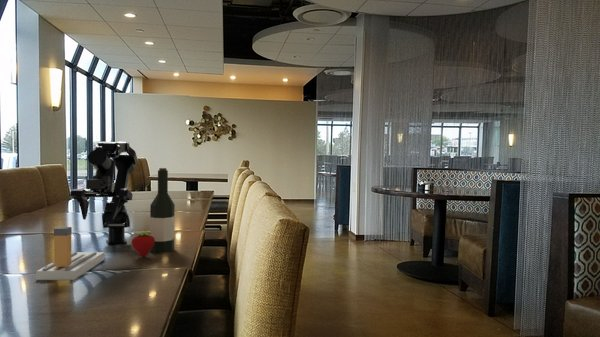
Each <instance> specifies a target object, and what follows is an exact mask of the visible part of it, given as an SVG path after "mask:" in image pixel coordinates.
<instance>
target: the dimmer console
mask: <svg viewBox="0 0 600 337" xmlns="http://www.w3.org/2000/svg"><path fill="white" fill-rule="evenodd" d="M104 260H105V252H101V251H100V252H99V251H93V252H91V251H86V252H84V251H83V252H80V251H71V265H69V266H67V267H54V261H53V262H51V263H49V264H46V265H44V266H43V267H42V268H40V269H38V270H36V281H75V280H76V279H78V278H79V277H81V276H83V275H84V274H85V273H87V272H88V271H90V270H91V269H92V268H94V267H95V266H98V264H100V263H101V262H103V261H104Z"/></svg>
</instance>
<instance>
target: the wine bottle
mask: <svg viewBox="0 0 600 337" xmlns="http://www.w3.org/2000/svg"><path fill="white" fill-rule="evenodd" d="M168 175H169V170H167V168H166V167H159V169H158V170H157V194H156V195H155V197H154V199H153V200H152V202H151V204H150V208H149V209H150V211H149V212H150V215H149V216H150V217H149V218H150V220H149V222H150V223H149V224H150V225H149V228H150V231H149V233H152V234H149V235H151V236H153V237H154V239H155V242H154V245H153V247H152V249H151V250H150V251H149V252H151V253H153V254H167V253H171V252H173V251H174V250H175V211H176V210H175V209H176V208H175V206H176V205H175V203H174V201H173V200H172V198H171V196H170V194H169V193H168V191H169V189H168V188H169V187H168V186H169V185H168V184H169V183H168V182H169V176H168Z"/></svg>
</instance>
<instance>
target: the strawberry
mask: <svg viewBox="0 0 600 337" xmlns="http://www.w3.org/2000/svg"><path fill="white" fill-rule="evenodd" d="M143 230H144V231H142V232H141V233H136V234H135V236H134V237H132V239H131V247H132V248H133V250H134V251H136V253H137V254H138V255H139V256H140V257H141V258H145V257H146V256H147V255H148V254H149V253H150V252H151V251H150V250H151V249H152V247H153V245H154V242H155V239H154V237H153V236H151V235H150V234H152V233H150V232H146V230H145V228H143Z"/></svg>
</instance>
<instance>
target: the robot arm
mask: <svg viewBox="0 0 600 337" xmlns="http://www.w3.org/2000/svg"><path fill="white" fill-rule="evenodd" d="M87 160H88V162H89V164H90V165H91V166H92V167H93V168H94V169H95V170H96V171H95V175H93V176H92V179H85V182H86V183H85V187H86V188H85V189H84V188H72V189H71V191H70V192H69V197H70V198H72V199H73V200H74V201H76V202H78V205H79V208H80V212H81V217H82V220H83V221H84V220H87V216H88V213H89V212H88V211H89V205H90V201H89V199H90V198H111V201H110V202H107V201H106V203H105V207H104V211H103V212H102V215H101V219H102V220H101V221H102V228H103V229H107V230H108V231H107V234H108V235H107V237H108V238H107V239H108V240H105V242H106V244H108V246H112V245H120V244H127V243H128V242H127V240H126V239H125V236H126V235H125V228H129V227H130V226H131V220H130V216H129V214H128V210H127V209H126V206H125V204H127V203H129V201H132V200H133V196H134V195H133V193H132V192H131V190H129V189H128V184H129V180H130V179H129V178H130V174H131V173H133V171H135V169H136V165H137V164H138V156H137V152H136V151H135V150H134V149H133V148H132V147H131V146H130V143H129V142H127V141H98V142H97V144H96V145H95V147H94V148H93V150H92V151H91V152H90V153H89V154H88V156H87ZM115 169H116V170H117V172H116V170H115ZM115 172H116V178H115V177H114V176H115ZM114 178H115V180H114ZM113 185H114V187H113ZM87 190H90V191H87Z"/></svg>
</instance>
